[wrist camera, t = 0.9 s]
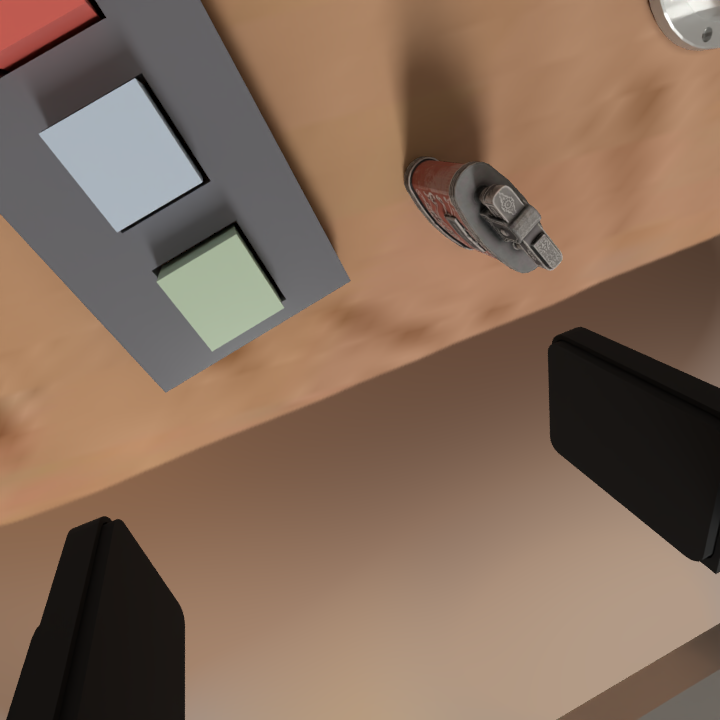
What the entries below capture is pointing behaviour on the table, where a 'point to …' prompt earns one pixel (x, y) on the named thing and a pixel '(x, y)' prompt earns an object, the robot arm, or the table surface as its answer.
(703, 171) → the table surface
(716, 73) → the table surface
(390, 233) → the table surface
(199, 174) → the bluegrey button
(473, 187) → the lighter
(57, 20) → the red button
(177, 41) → the button panel
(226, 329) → the sage button
